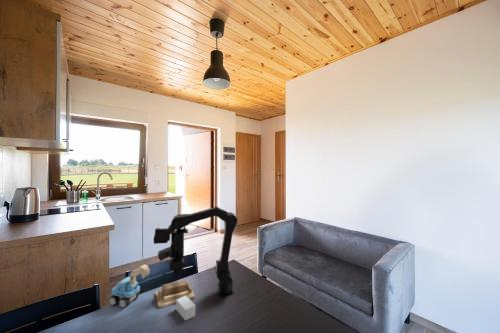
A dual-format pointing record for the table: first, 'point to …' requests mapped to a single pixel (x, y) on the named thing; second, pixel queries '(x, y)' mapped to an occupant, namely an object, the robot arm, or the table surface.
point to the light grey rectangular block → (185, 307)
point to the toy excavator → (128, 288)
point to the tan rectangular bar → (174, 288)
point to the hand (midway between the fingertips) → (176, 274)
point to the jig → (172, 297)
